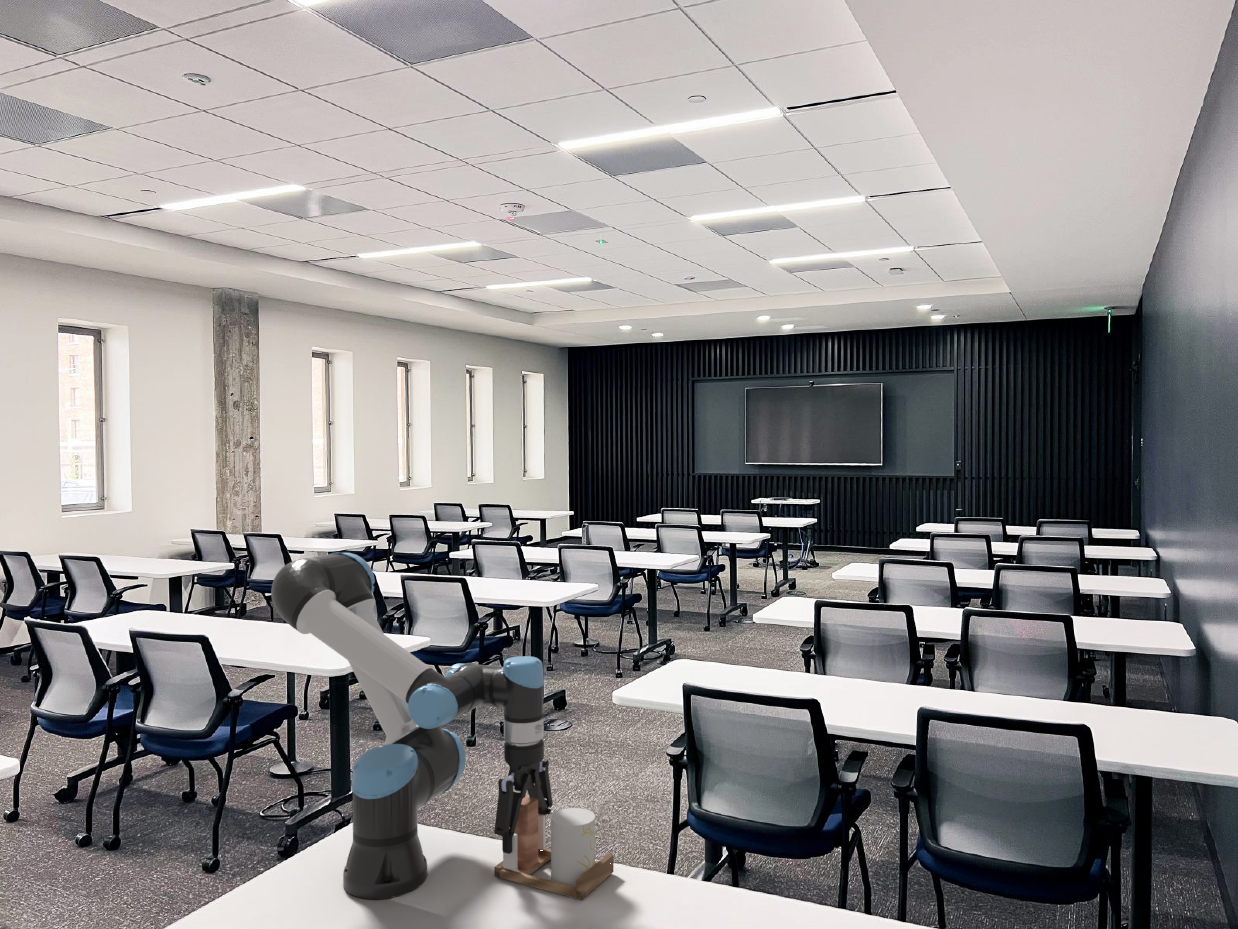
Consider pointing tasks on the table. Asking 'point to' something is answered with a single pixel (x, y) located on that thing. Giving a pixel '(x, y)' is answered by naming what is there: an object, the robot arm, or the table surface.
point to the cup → (572, 844)
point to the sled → (546, 859)
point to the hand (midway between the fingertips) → (524, 858)
